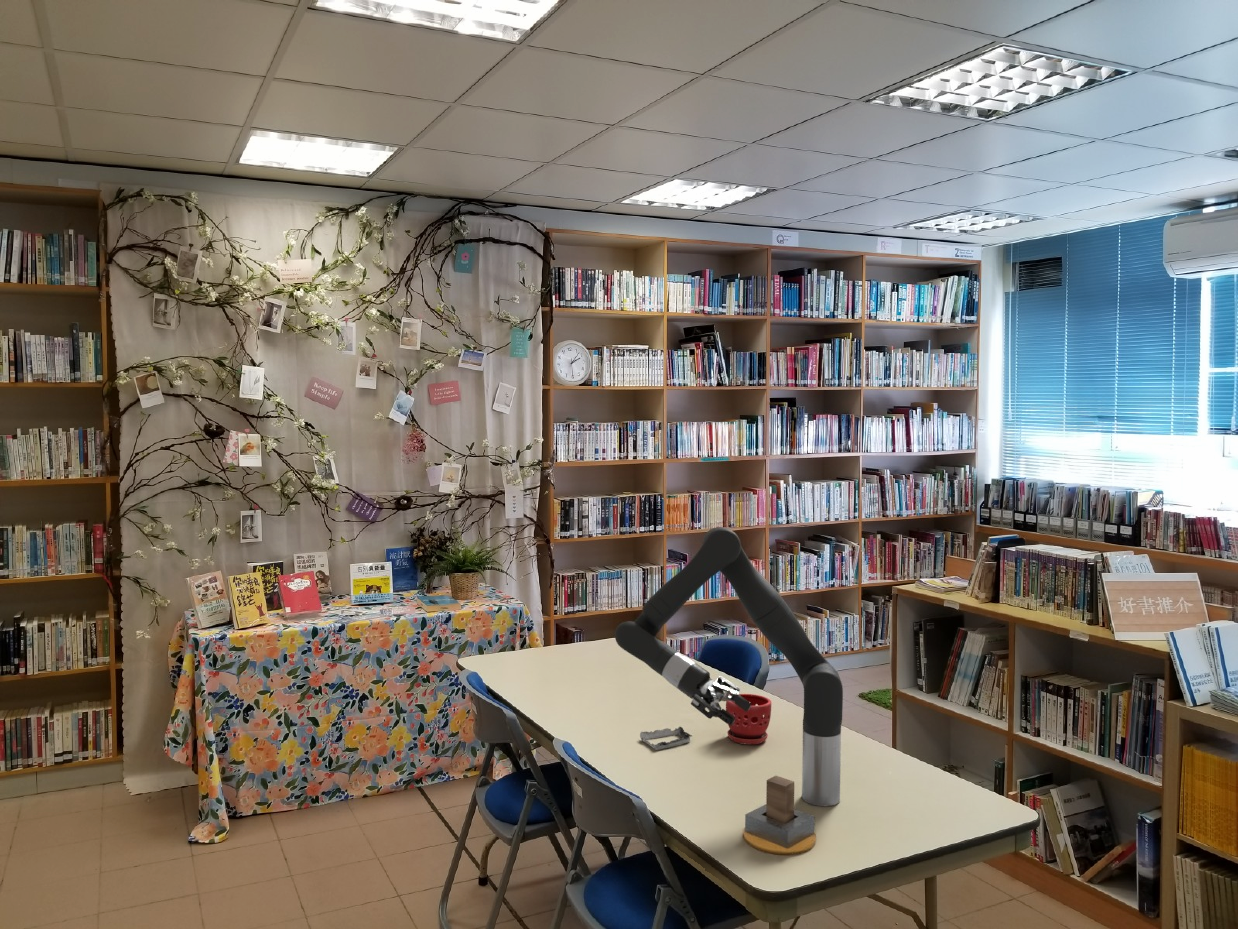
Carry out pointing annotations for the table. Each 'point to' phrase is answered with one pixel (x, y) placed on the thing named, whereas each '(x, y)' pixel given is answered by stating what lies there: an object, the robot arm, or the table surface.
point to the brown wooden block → (780, 799)
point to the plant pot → (750, 720)
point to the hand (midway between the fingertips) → (741, 715)
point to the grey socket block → (779, 833)
